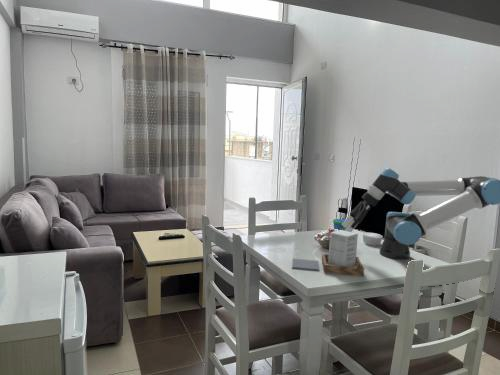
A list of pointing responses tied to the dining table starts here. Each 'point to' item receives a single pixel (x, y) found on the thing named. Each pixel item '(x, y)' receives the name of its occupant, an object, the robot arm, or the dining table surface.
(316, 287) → the dining table surface
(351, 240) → the supplement box
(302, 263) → the grey pad
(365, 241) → the ramekin
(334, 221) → the snack cup
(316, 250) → the dining table surface
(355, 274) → the walnut crate
